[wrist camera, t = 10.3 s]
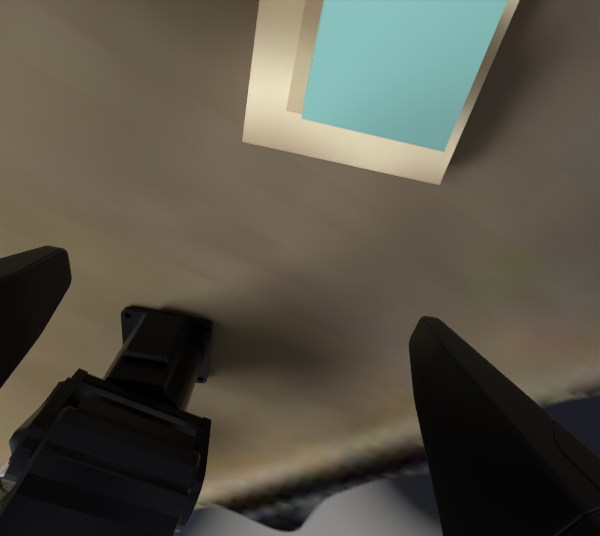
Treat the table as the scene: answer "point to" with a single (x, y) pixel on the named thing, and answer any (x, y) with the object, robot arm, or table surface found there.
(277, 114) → the cream square tray
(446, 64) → the teal cube
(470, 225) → the table surface
